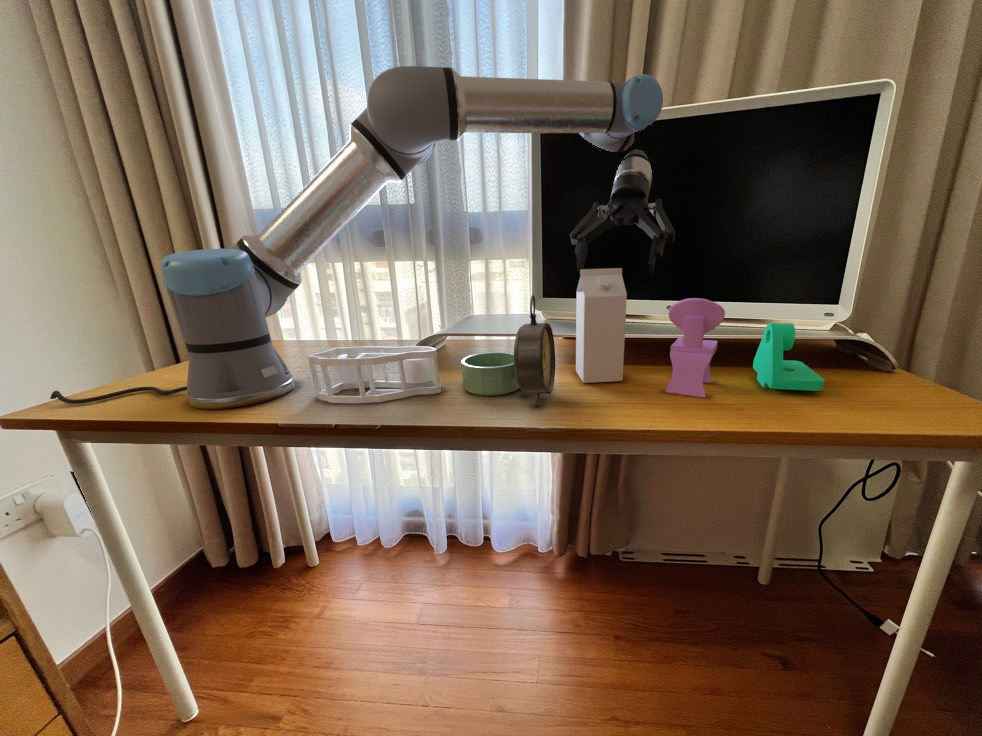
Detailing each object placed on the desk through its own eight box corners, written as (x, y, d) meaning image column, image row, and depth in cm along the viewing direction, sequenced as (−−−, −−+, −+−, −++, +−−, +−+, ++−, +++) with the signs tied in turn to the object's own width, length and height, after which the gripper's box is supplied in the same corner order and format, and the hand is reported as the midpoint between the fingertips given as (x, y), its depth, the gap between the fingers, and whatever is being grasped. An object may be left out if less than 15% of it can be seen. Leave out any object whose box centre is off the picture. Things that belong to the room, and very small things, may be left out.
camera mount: (823, 397, 66) (838, 331, 62) (769, 395, 68) (781, 330, 64) (797, 374, 77) (809, 317, 73) (751, 373, 79) (760, 316, 75)
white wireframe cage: (449, 382, 78) (445, 342, 75) (429, 404, 67) (424, 359, 65) (344, 381, 79) (336, 342, 77) (309, 403, 69) (299, 359, 66)
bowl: (452, 393, 72) (449, 365, 70) (481, 376, 81) (479, 350, 79) (507, 400, 68) (506, 370, 67) (531, 381, 77) (530, 354, 75)
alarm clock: (545, 411, 64) (543, 300, 58) (510, 409, 65) (504, 299, 59) (557, 387, 74) (556, 290, 68) (526, 386, 75) (523, 290, 69)
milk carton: (575, 372, 82) (576, 268, 75) (612, 370, 82) (616, 266, 75) (583, 384, 75) (584, 271, 68) (622, 381, 76) (628, 269, 69)
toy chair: (718, 382, 74) (730, 293, 69) (712, 398, 67) (725, 300, 61) (670, 376, 78) (677, 292, 72) (658, 391, 71) (666, 298, 65)
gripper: (694, 199, 87) (682, 283, 80) (576, 205, 96) (555, 281, 88) (696, 166, 81) (683, 254, 73) (569, 176, 89) (546, 255, 82)
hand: (613, 269), depth 81 cm, fingers open, 13 cm apart
